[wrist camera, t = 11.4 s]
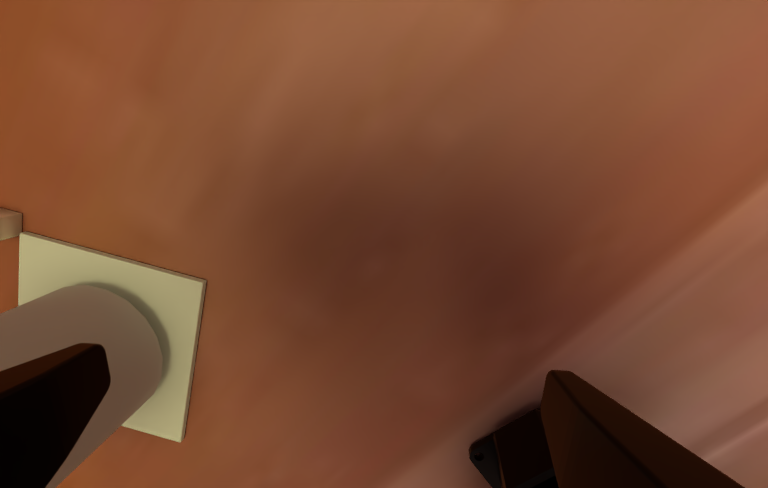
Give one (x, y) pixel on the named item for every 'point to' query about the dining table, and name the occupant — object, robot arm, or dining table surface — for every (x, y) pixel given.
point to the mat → (148, 295)
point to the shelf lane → (10, 224)
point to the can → (88, 325)
